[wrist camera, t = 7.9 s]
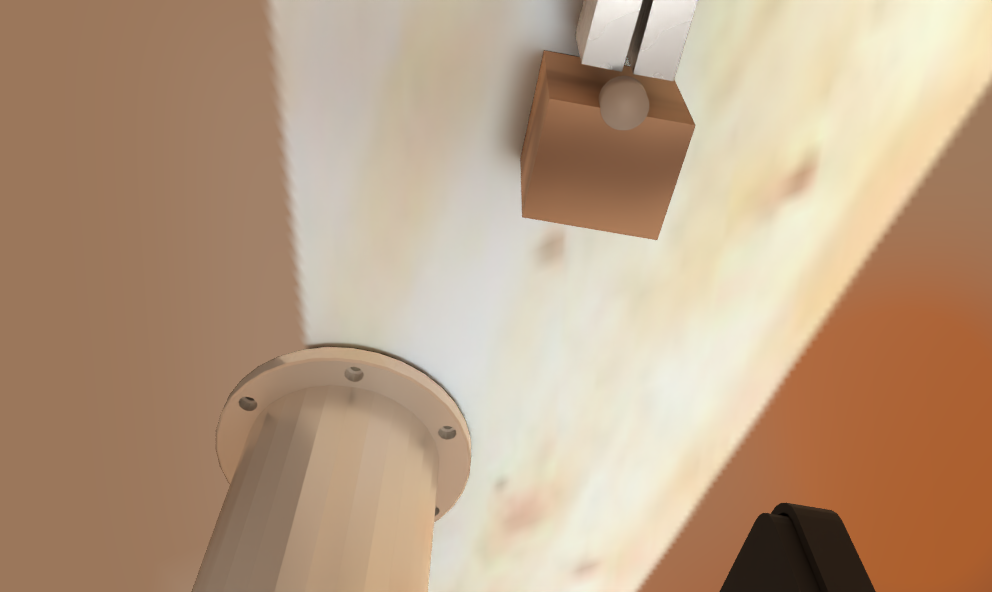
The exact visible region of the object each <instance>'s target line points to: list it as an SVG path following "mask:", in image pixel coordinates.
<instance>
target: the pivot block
mask: <svg viewBox="0 0 992 592" xmlns="http://www.w3.org/2000/svg"><path fill="white" fill-rule="evenodd" d="M694 128H695V123H694V121H693V119H692V117H691V115H690V113H689V110H688V108H687V106H686V104H685V102H684V100H683V97H682V95H681V93H680V91H679V89H678V87H677V84H676V82H675V80H674V81H669V80H663V79H658V78H652V77H647V76H641V75H636V74H633V72H632V69H631V67H630V66H625V65H624V67H623V70H622V72H620V71H615V70H610V69H605V68H600V67H595V66H590V65H585V64H581V59H580V57H577V56H572V55H566V54H561V53H556V52H550V51H545V50H544V53H543V57H542V62H541V67H540V71H539V76H538V80H537V85H536V89H535V94H534V98H533V103H532V108H531V112H530V117H529V121H528V126H527V130H526V135H525V139H524V144H523V149H522V153H521V158H520V162H521V195H522V217H524V218H530V219H536V220H542V221H548V222H554V223H560V224H566V225H572V226H577V227H583V228H589V229H595V230H601V231H607V232H613V233H619V234H624V235H630V236H636V237H642V238H648V239H654V240H657V239H658V236H659V233H660V230H661V227H662V224H663V221H664V218H665V215H666V212H667V209H668V206H669V203H670V200H671V197H672V194H673V191H674V188H675V185H676V182H677V179H678V176H679V173H680V170H681V167H682V164H683V161H684V158H685V155H686V152H687V149H688V146H689V143H690V140H691V137H692V134H693V131H694Z"/></svg>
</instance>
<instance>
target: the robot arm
mask: <svg viewBox="0 0 992 592" xmlns="http://www.w3.org/2000/svg"><path fill="white" fill-rule="evenodd" d="M216 452H217V456H218V460H219V464H220V467H221V469H222V471H223V473H224V475H225V477H226V479H227V481H228V483H229V484H230V487H229V490H228V493H227V495H226V498H225V501H224V504H223V506H222V509H221V512H220V515H219V517H218V520H217V523H216V526H215V529H214V531H213V534H212V537H211V539H210V542H209V545H208V548H207V550H206V553H205V556H204V559H203V562H202V564H201V567H200V570H199V573H198V575H197V578H196V581H195V584H194V586H193V589H192V592H428V584H429V573H430V562H431V551H432V540H433V529H434V522H436V521H437V520H439V519H440V518H441V517H442V516H443V515H445V514H446V513H447V512H448V511H449V510H450V509H451V508H452V507H453V506H454V505H455V503H456V502H457V500H458V499H459V497H460V496H461V494H462V493H463V491H464V488H465V486H466V483H467V480H468V478H469V473H470V463H471V438H470V435H469V431H468V428H467V424H466V421H465V419H464V417H463V415H462V414H461V412H460V410H459V408H458V407H457V405H456V403H455V402H454V401H453V400H452V399H451V398H450V396H449V395H448V394H447V393H446V392H445V391H444V390H443V388H442V387H440V386H439V385H438V384H437V383H435V382H434V381H433V380H432V379H430V378H429V377H428V376H426V375H425V374H424V373H422V372H420V371H419V370H417V369H415V368H413V367H411V366H409V365H407V364H406V363H404V362H402V361H399V360H396V359H393V358H391V357H388V356H385V355H382V354H379V353H375V352H370V351H365V350H360V349H355V348H339V347H322V348H313V349H305V350H299V351H296V352H292V353H289V354H285V355H282V356H278V357H276V358H274V359H272V360H270V361H268V362H266V363H264V364H262V365H260V366H258V367H257V368H256V369H254V370H253V371H252V372H251V373H249V374H248V375H247V376H246V377H244V378H243V379H242V380H241V381H240V382H239V384H238V385H237V386H236V387H235V389H234V390H233V391H232V392H231V394H230V395H229V397H228V400H227V402H226V404H225V406H224V408H223V410H222V413H221V415H220V419H219V422H218V426H217V429H216ZM720 592H875V590H874V587H873V585H872V583H871V581H870V579H869V577H868V575H867V573H866V570H865V568H864V566H863V564H862V562H861V560H860V558H859V555H858V554H857V551H856V549H855V547H854V545H853V543H852V541H851V539H850V536H849V534H848V532H847V530H846V528H845V526H844V524H843V522H842V520H841V519H840V517H839V516H838V514H837V513H835V512H834V511H832V510H826V509H821V508H815V507H808V506H802V505H796V504H790V503H780V504H779V505H777V506H776V507H775V508H774V510H773V511H772V513H771V514H769V513H762V514H761V515H759V516H758V518H757V519H756V521H755V523H754V525H753V527H752V529H751V531H750V533H749V535H748V537H747V539H746V540H745V542H744V545H743V546H742V548H741V550H740V552H739V554H738V556H737V558H736V560H735V562H734V564H733V566H732V568H731V570H730V572H729V574H728V576H727V578H726V580H725V582H724V584H723V586H722V588H721V590H720Z"/></svg>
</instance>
